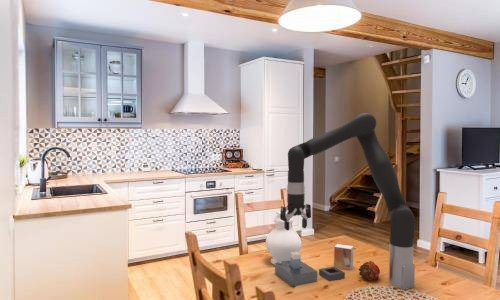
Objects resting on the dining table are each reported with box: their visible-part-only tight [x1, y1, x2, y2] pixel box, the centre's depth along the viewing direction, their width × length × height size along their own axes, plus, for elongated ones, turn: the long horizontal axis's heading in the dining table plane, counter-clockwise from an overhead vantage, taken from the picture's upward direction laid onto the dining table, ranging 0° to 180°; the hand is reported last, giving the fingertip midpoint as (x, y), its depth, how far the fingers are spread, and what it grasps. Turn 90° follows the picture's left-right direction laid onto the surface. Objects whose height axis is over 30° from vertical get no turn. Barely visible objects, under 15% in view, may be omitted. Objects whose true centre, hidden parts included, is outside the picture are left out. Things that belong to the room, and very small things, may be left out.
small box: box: [333, 243, 355, 271], centre depth 172 cm, size 8×6×10 cm
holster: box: [318, 265, 346, 282], centre depth 161 cm, size 8×8×3 cm
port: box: [274, 260, 318, 288], centre depth 161 cm, size 16×12×6 cm
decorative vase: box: [265, 209, 303, 266], centre depth 180 cm, size 18×18×25 cm
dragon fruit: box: [358, 260, 381, 281], centre depth 159 cm, size 8×8×12 cm
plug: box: [290, 252, 301, 269], centre depth 161 cm, size 3×3×10 cm
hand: (295, 228), depth 160 cm, fingers open, 8 cm apart
